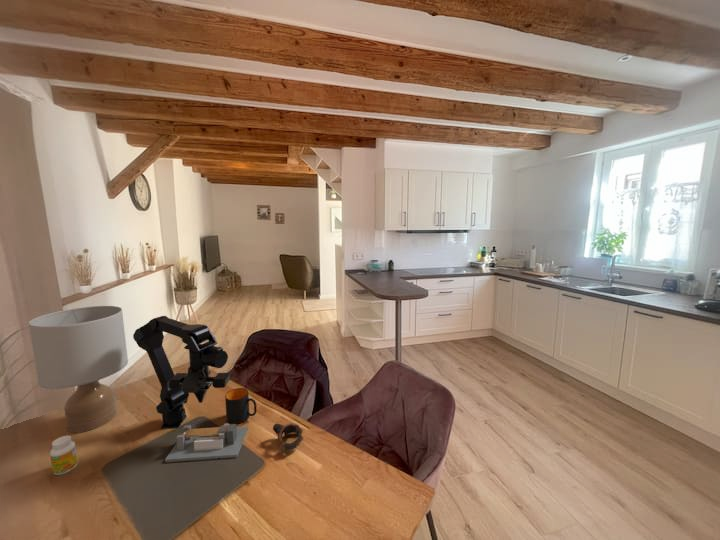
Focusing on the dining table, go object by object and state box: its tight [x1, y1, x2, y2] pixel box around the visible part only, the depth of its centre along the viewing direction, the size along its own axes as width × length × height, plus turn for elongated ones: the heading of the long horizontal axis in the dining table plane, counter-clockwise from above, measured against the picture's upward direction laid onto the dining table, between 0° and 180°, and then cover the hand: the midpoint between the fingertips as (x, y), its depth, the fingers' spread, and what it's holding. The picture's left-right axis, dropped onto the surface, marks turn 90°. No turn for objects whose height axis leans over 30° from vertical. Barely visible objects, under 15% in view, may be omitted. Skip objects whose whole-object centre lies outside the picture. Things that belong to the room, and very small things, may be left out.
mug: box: [224, 387, 258, 426], centre depth 112 cm, size 8×12×10 cm
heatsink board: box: [164, 423, 249, 463], centre depth 98 cm, size 22×13×6 cm, turn 96°
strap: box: [180, 424, 229, 438], centre depth 98 cm, size 15×3×2 cm, turn 96°
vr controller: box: [272, 422, 304, 454], centre depth 100 cm, size 12×9×8 cm
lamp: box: [28, 305, 129, 433], centre depth 107 cm, size 24×24×42 cm
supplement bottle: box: [49, 435, 79, 476], centre depth 88 cm, size 5×5×10 cm
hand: (201, 402), depth 103 cm, fingers closed
